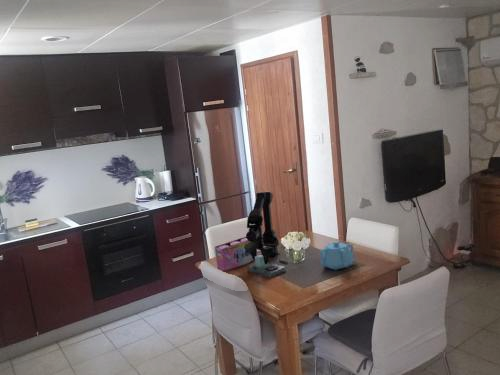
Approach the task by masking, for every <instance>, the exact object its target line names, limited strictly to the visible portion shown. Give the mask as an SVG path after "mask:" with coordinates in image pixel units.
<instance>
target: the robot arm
mask: <svg viewBox="0 0 500 375" xmlns="http://www.w3.org/2000/svg"><path fill="white" fill-rule="evenodd" d="M273 196H274V194H273V192H271V191H270V190H267V191H259V192H257V193H256V195H255V202H254V205H253V209H252V210H251V211H249V215H248V216H247V221H246V229H248V231H247V233H246V234H245V237H246V238H247V240H248V241H251V242H250V243H247V244H245V246H244V248H245V250H246V252H249V253H250V254H251V256H252V258H253V260H254V261H253V262H254V263H255V256H258V251H260V253H261V254H260V255H262V256H263V258H264V263H265V265H266V264H267V262H269V259H270V257H272V258H273V257H276V256H278V255H280V252H279V251H278V247H279V245H280V240H279V238H278V236H277V232H275V230H274V228H273V219H272V211H271V204H272V202H273V198H274V197H273ZM263 222H264V223H263ZM263 225H264V232H263V230H262V229H263V228H262V226H263Z"/></svg>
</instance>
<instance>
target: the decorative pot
mask: <svg viewBox="0 0 500 375" xmlns="http://www.w3.org/2000/svg"><path fill="white" fill-rule="evenodd" d="M353 251H354V246H353V245H352V244H351V243H344V242H339V241H333V242H330V243H327V244H326V245H325V247H324V248H323V249H321V250H320V254H319V255H320V258H321V259H322V260H320V265H321V266H325V267H326V268H328V269H331V270H333V271H338V270H340V269H346V268H349V267H350V266H352V265H353V262H354V258H355V254H354V253H353Z"/></svg>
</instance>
